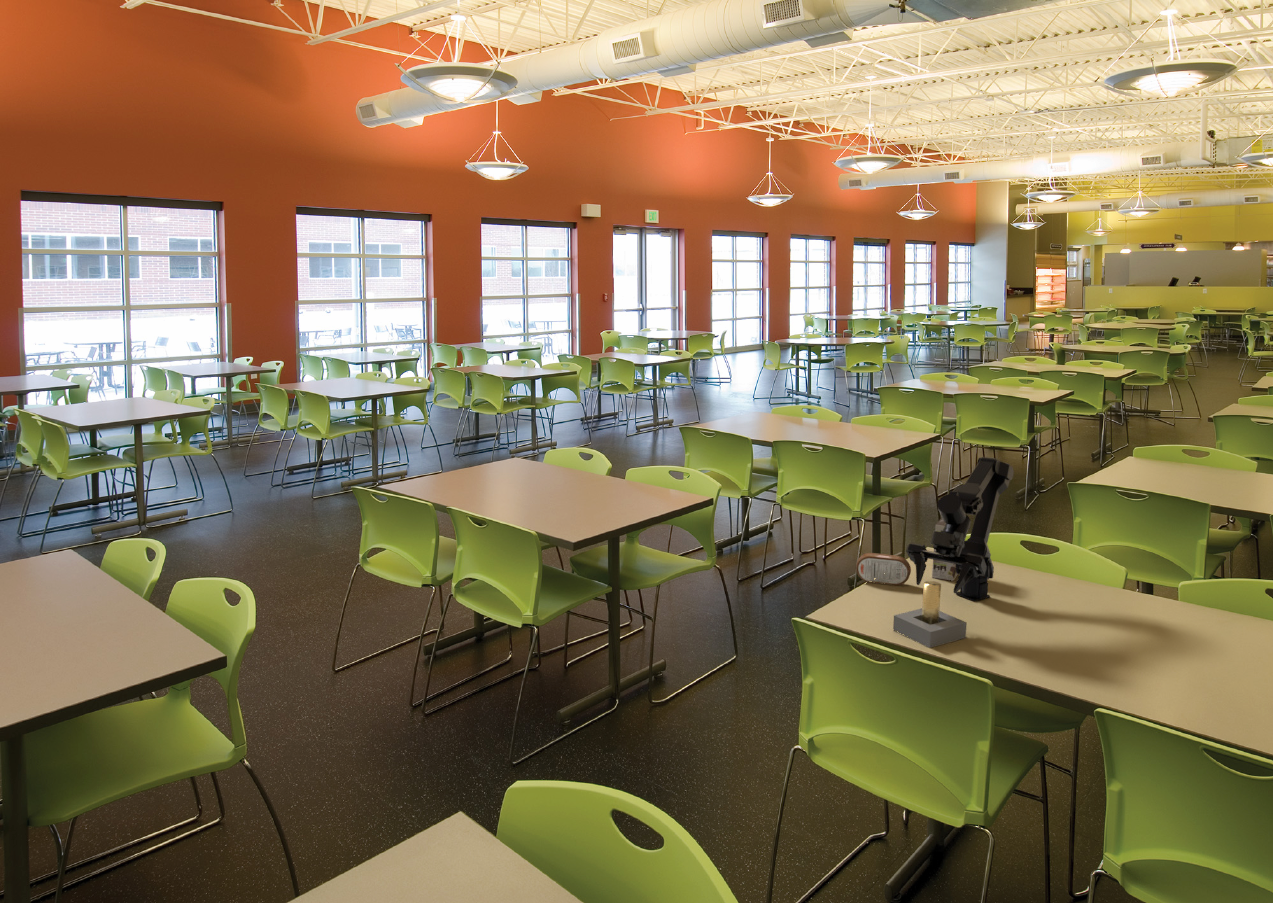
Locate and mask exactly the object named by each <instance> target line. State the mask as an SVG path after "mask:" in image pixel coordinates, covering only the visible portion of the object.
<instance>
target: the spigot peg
mask: <svg viewBox="0 0 1273 903" xmlns="http://www.w3.org/2000/svg"><path fill="white" fill-rule="evenodd" d="M941 589H942V584H941V583H940V582H938V581H932V580H930V581H929V580H927V581H925V582H923V590H922V591H923V593H922V621H923V622H925V623H927V624H929V625H932V624H936V623H939V611H940V607H941V592H942V590H941Z"/></svg>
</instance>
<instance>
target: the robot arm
mask: <svg viewBox="0 0 1273 903" xmlns="http://www.w3.org/2000/svg"><path fill="white" fill-rule="evenodd" d="M1014 473H1015V472H1014V467H1013V466H1012V465H1010V463H1009V462H1003V461H1001V460H1000V459H997V458H994V457H986V456H982V457H979V458H978V459H977V462H976V466H975V467H974V469H973V470H972V472H971V474H970V476H969V477H968V478H967V480H966V482H965V483H963V484H961V485H958V486H955V488H954V489H953V490H950V491H949V493H948V494H945V495H943V496H941V497H940V498H939V499H938V500H937V505H936V506H937V509H938V511H939V514H940V516H941V518H942V519H943V521H944V522H945V526H944V529H943V531H942V530H941V532H938V531H935V530H933V531H932V534H931V540H930V544H932V545H933V546H932V548H933V550H934V549H936V552H934V551H933V550H927V547H926V546H925V544H922V543H917V542H910V543H909V544H908V545H907V546H906V550H905V552H906V554H907V556H908V558H909V560H910V562H913V564H914V565H915V576H916V577H915V578H916V586H920V584H921V582H922V579H923V577H924V575H925V571H926V569H927V564H926V563H927V562H928V560H932V561H933V560H938V561H943V562H948V563H954V564H956V573H957V574H958V576H957V577H958V578H957V580H956V581H955V584H954V587H953V593H954V594H955V595H957V596H960V597H962V598H965V599H967V600H970V601H972V602H977V601H980V600H985V599H989V598H991V595H990V594H988V591H989V582H988V580H989V579H993V578H994V571H995V567H994V565H993V561H992V558H991V551H990V549H989V545H988V542H989V538H990V534H991V529H992V526H993V522H994V518H995V515H996V510H997V506H998V502H999V499H1000V496H1001V494H1002V493H1004V492H1005V491H1007V489H1008V488H1009V485H1010V482H1011V481H1012V480H1013V478H1014ZM968 515H970V516H971V515H972V516H975V517H974V520H973V524H972V528H971V523H972V522H971V519H970V517H969V516H968ZM970 529H971V531H970V532H971V533H970V536H969V538H967V535H968V531H969V530H970ZM966 538H967V539H966Z"/></svg>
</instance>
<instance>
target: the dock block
mask: <svg viewBox="0 0 1273 903" xmlns="http://www.w3.org/2000/svg"><path fill="white" fill-rule="evenodd" d="M967 626H968V625H967V621H964V620H962V619H960V618H957V617H955V616H952V615H950V614H948V613H945V612H942V611H941V610H939V623H936V624H932V625H929V624H927V623H925V622H923V621H922V608H918V609H914V610H910V611H906V612H901V613H897V614H895V615H893V625H892V627H893V628H892V630H893V629H894V630H895V631H898V632H899V633H901V634H900V635H902V634H904V635H905V636H904V635H903V636H904V637H906V636H908V637H909V638H908V637H907V638H908V639H910V638H911V639H910V640H912V639H913V640H912V641H914V640H915V641H914V642H916V641H917V643H918V642H919V643H918V644H921V645H923V646H925V647H926V648H929V649H930V648H934V647H938V646H942V645H944V644H949V643H951V642H955V641H956V642H957V641H959V640H963V639H966V638H967V637H966V636H967ZM895 631H894V632H895ZM899 633H898V634H899Z"/></svg>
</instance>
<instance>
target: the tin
mask: <svg viewBox="0 0 1273 903" xmlns="http://www.w3.org/2000/svg"><path fill="white" fill-rule="evenodd" d="M855 566H856V567H855V569H856V574H857V576H858V577H859V578H860V579H861V580H862V581H864V582H866V583H869V581H872V582H871V583H872V584H878V583H883V584H882V585H887V584H893V585H892V586H901V585H903V584H904V585H905V583H906V582H907V581H908V580H909V578H910V575H911V574H912V573H911V572H912V568H911V565H910V563H909V561H908V560H907V559H906V558H905V557H902V556H900V555H897V554H896V555H893V554H884V553H876V552H875V553H874V552H867V553H864V554H862V555H860V557H858V559H857V561H856V565H855ZM884 573H885V574H884ZM874 578H876V579H875V580H874ZM873 582H875V583H873ZM871 583H870V584H871ZM884 583H885V584H884Z"/></svg>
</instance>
